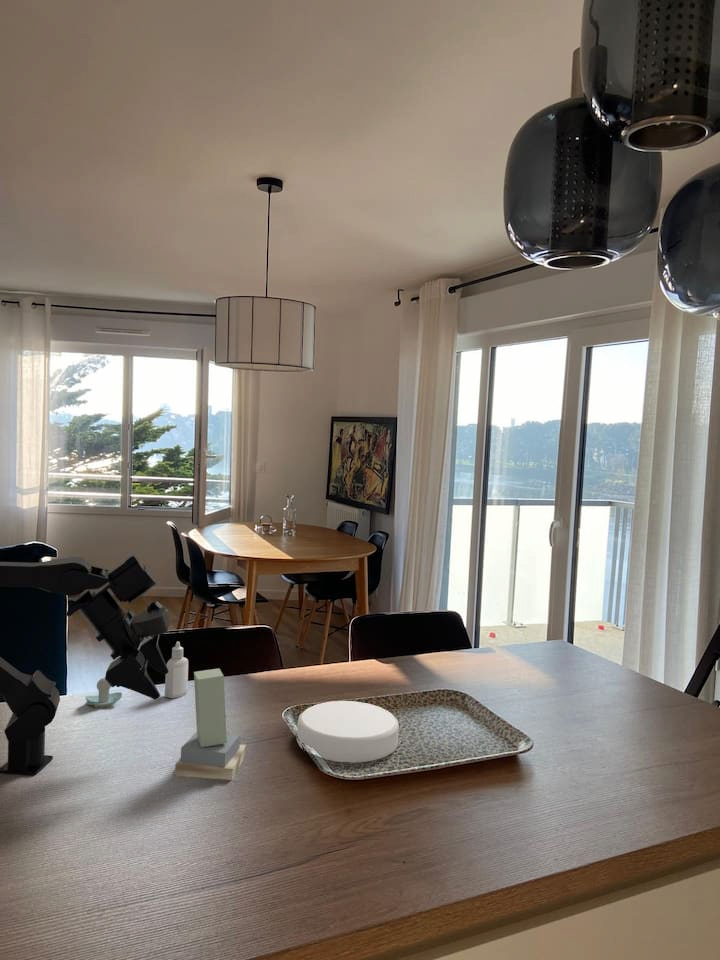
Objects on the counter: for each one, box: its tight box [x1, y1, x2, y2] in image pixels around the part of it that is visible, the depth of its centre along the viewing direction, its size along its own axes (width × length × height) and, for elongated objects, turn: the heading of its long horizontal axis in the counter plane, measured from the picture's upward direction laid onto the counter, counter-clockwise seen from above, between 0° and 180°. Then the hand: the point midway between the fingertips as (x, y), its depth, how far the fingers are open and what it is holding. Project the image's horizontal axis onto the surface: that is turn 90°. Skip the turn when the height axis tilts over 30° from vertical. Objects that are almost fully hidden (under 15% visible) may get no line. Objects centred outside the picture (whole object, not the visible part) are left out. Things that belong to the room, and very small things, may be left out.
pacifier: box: [85, 677, 123, 708], centre depth 154 cm, size 7×6×6 cm
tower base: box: [174, 743, 247, 781], centre depth 128 cm, size 10×10×2 cm
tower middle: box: [180, 731, 241, 767], centre depth 128 cm, size 8×8×2 cm
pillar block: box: [193, 668, 227, 747], centre depth 127 cm, size 4×4×12 cm
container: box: [296, 700, 400, 763], centre depth 142 cm, size 20×20×5 cm
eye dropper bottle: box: [164, 641, 189, 699], centre depth 161 cm, size 4×6×12 cm
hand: (162, 685), depth 130 cm, fingers open, 9 cm apart
